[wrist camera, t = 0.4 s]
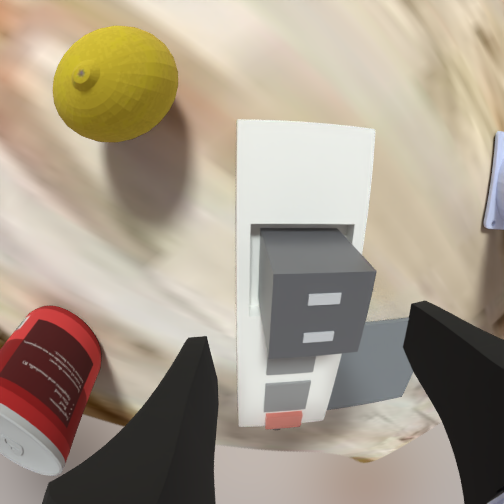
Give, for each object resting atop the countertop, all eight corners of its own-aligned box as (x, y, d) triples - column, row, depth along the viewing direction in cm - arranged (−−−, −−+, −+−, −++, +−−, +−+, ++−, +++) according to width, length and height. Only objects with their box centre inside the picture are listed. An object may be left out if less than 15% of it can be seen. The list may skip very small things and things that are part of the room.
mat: (432, 314, 23) (434, 317, 23) (400, 394, 27) (401, 396, 27) (324, 325, 23) (325, 328, 22) (307, 409, 26) (308, 412, 26)
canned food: (37, 364, 23) (-9, 452, 13) (19, 293, 20) (-55, 382, 10) (109, 384, 24) (76, 488, 14) (99, 311, 21) (40, 429, 11)
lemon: (206, 98, 16) (189, 78, 9) (130, 156, 17) (67, 182, 10) (154, 30, 14) (107, -23, 7) (82, 89, 15) (2, 80, 8)
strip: (236, 120, 17) (237, 119, 13) (354, 127, 17) (379, 129, 14) (237, 419, 26) (239, 449, 23) (311, 414, 27) (318, 443, 24)
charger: (336, 228, 18) (377, 272, 12) (328, 295, 19) (358, 353, 14) (260, 227, 17) (273, 275, 12) (258, 297, 19) (268, 360, 14)
